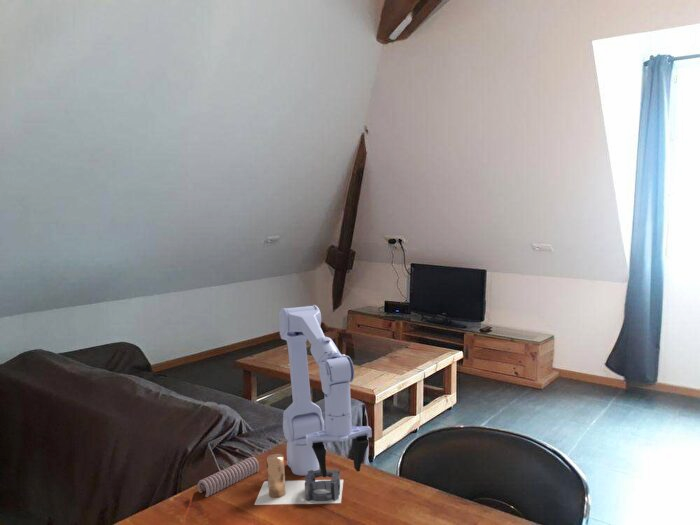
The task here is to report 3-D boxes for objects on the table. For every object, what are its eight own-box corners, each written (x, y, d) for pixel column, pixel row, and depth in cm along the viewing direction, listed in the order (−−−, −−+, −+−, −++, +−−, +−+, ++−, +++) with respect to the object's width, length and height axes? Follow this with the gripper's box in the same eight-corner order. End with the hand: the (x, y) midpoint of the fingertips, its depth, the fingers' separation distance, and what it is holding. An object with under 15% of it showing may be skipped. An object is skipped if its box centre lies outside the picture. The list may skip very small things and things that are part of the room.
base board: (254, 508, 130) (254, 504, 129) (264, 485, 142) (264, 481, 141) (341, 507, 129) (340, 502, 129) (343, 483, 141) (343, 479, 141)
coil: (206, 485, 133) (262, 458, 148) (194, 478, 136) (250, 453, 151) (206, 503, 134) (261, 475, 148) (194, 496, 137) (249, 469, 151)
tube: (285, 489, 137) (283, 453, 136) (285, 497, 133) (284, 459, 132) (268, 491, 136) (266, 454, 135) (268, 498, 132) (266, 461, 131)
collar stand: (304, 501, 130) (303, 484, 130) (308, 485, 138) (307, 469, 138) (338, 500, 130) (338, 484, 129) (340, 485, 138) (340, 469, 137)
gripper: (309, 422, 118) (312, 485, 118) (375, 413, 122) (377, 474, 123) (302, 412, 124) (305, 472, 125) (365, 403, 128) (367, 461, 129)
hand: (340, 472), depth 124 cm, fingers open, 7 cm apart
